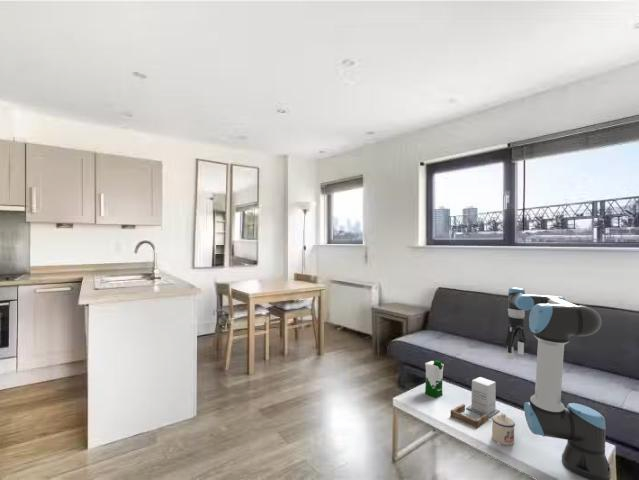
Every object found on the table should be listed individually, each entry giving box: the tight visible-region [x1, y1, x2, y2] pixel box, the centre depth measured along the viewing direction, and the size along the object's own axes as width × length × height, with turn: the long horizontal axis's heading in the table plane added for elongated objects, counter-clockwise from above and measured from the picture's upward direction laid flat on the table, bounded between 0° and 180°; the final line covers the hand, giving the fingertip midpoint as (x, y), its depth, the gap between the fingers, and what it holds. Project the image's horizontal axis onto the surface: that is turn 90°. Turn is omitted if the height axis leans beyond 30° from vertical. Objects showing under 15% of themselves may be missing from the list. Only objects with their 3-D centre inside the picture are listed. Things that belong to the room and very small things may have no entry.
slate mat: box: [465, 404, 501, 419], centre depth 176 cm, size 12×12×1 cm
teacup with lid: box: [491, 412, 516, 447], centre depth 149 cm, size 12×9×12 cm
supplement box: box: [471, 376, 497, 414], centre depth 176 cm, size 9×9×15 cm
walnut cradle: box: [450, 403, 489, 429], centre depth 167 cm, size 12×13×3 cm
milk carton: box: [424, 359, 445, 399], centre depth 194 cm, size 9×9×20 cm
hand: (515, 356), depth 177 cm, fingers open, 13 cm apart
